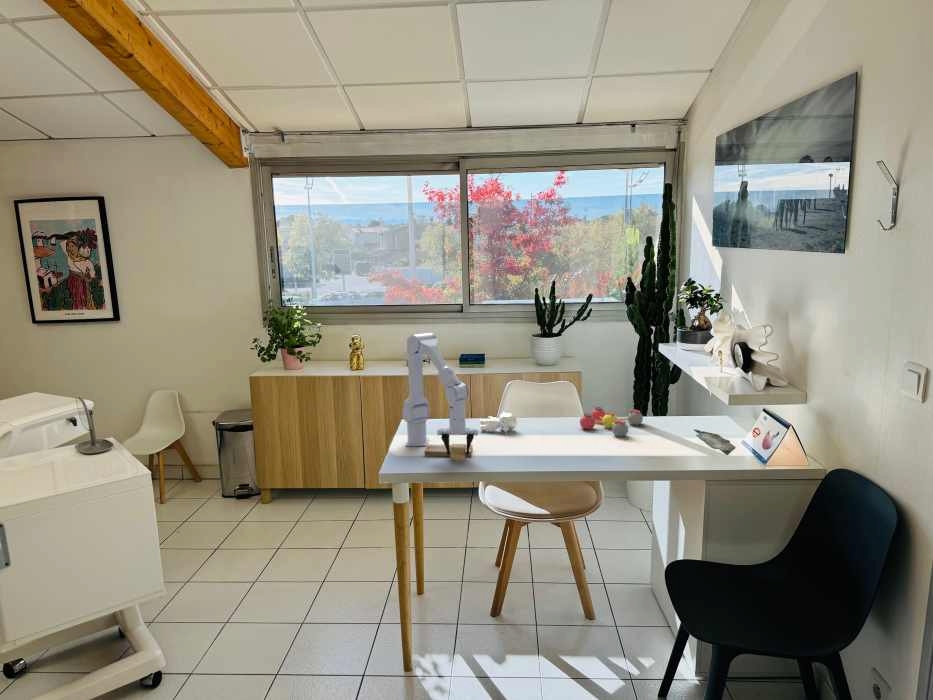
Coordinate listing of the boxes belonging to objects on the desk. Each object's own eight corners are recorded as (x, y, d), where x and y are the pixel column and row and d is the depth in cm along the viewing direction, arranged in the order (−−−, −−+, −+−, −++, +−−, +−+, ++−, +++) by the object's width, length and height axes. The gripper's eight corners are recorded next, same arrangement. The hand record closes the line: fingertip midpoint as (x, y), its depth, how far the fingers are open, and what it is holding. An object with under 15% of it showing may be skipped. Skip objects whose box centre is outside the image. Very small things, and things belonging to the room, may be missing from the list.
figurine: (478, 411, 268) (514, 404, 266) (482, 419, 274) (517, 413, 272) (480, 433, 262) (516, 427, 260) (484, 441, 268) (519, 435, 265)
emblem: (687, 430, 265) (687, 428, 265) (711, 429, 265) (711, 428, 265) (721, 456, 233) (721, 454, 233) (748, 455, 234) (748, 453, 233)
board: (427, 449, 245) (427, 444, 245) (472, 449, 244) (472, 444, 244) (424, 456, 237) (424, 451, 237) (471, 456, 236) (471, 451, 236)
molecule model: (625, 440, 254) (625, 424, 253) (574, 432, 265) (574, 417, 264) (644, 424, 274) (645, 409, 273) (596, 417, 286) (597, 403, 285)
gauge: (452, 454, 240) (452, 440, 239) (466, 454, 239) (465, 441, 238) (450, 460, 232) (450, 447, 231) (464, 460, 232) (464, 447, 231)
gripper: (435, 420, 228) (436, 457, 231) (477, 420, 227) (477, 457, 230) (438, 415, 235) (439, 451, 238) (478, 415, 234) (478, 451, 236)
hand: (458, 454), depth 234 cm, fingers open, 6 cm apart
